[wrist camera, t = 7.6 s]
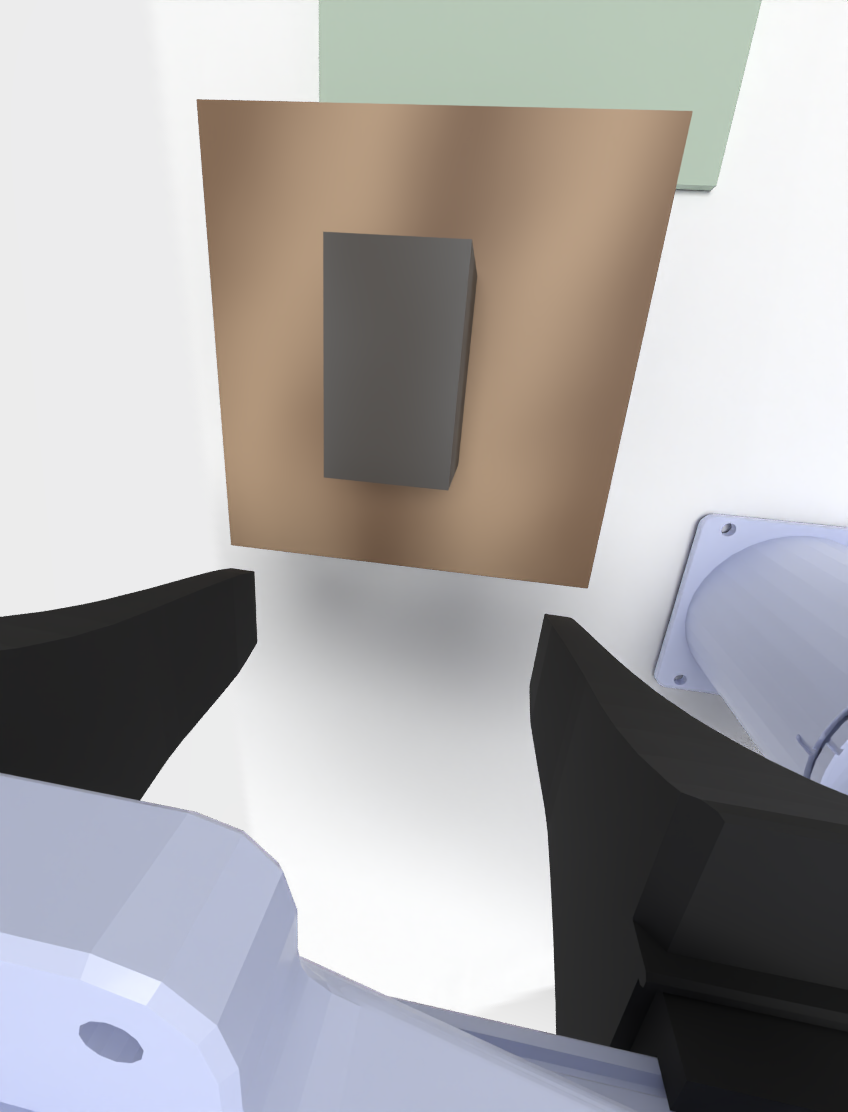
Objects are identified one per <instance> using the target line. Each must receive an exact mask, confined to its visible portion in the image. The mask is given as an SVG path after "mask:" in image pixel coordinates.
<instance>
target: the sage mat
mask: <svg viewBox="0 0 848 1112" xmlns="http://www.w3.org/2000/svg"><path fill="white" fill-rule="evenodd" d="M761 1H762V0H319V102H330V103H373V104H416V105H459V106H502V107H545V108H588V109H631V110H674V111H693V113H692V117H691V122H690V126H689V131H688V135H687V140H686V145H685V149H684V154H683V158H682V163H681V167H680V172H679V176H678V181H677V185H676V189H685V190H712V189H713V188H714V187H716V185H717V181H718V177H719V173H720V168H721V164H722V160H723V156H724V152H725V148H726V144H727V140H728V136H729V132H730V128H731V124H732V120H733V115H734V111H735V107H736V103H737V99H738V95H739V91H740V87H741V83H742V79H743V75H744V71H745V67H746V62H747V58H748V54H749V50H750V46H751V42H752V38H753V34H754V30H755V26H756V22H757V18H758V13H759V9H760V5H761Z"/></svg>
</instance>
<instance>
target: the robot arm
mask: <svg viewBox="0 0 848 1112" xmlns="http://www.w3.org/2000/svg"><path fill="white" fill-rule="evenodd" d="M729 523H731V529H730V531H728V532H727V533H722V528H723V526H724V525H726V524H729ZM256 644H257V624H256V600H255V576H254V571H247V570H240V569H233V568H230V569H222V570H217V571H212V572H208V573H204V574H200V575H197V576H193V577H189V578H185V579H182V580H179V581H175V582H171V583H168V584H164V585H160V586H157V587H153V588H150V589H146V590H142V591H138V592H134V593H130V594H126V595H122V596H118V597H114V598H110V599H106V600H101V601H97V602H92V603H87V604H83V605H78V606H72V607H66V608H61V609H55V610H49V611H44V612H36V613H28V614H20V615H12V616H4V617H0V1112H848V527H838V526H829V525H819V524H809V523H800V522H790V521H780V520H771V519H761V518H751V517H742V516H732V515H722V514H709V515H707V516H705V517H704V518H702V519H701V521H700V522H699V524H698V528H697V531H696V534H695V538H694V541H693V544H692V548H691V551H690V554H689V558H688V561H687V565H686V568H685V571H684V575H683V578H682V581H681V585H680V588H679V591H678V595H677V598H676V602H675V605H674V608H673V612H672V615H671V618H670V622H669V625H668V628H667V632H666V635H665V638H664V642H663V645H662V649H661V652H660V655H659V659H658V662H657V665H656V669H655V672H654V676H655V678H656V680H657V682H658V684H660V685H661V686H664V687H669V688H676V689H683V690H690V691H697V692H704V693H712V694H719V695H720V696H721V697H722V699H723V700H724V701H725V703H726V704H727V705H728V707H729V708H730V710H731V711H732V712H733V714H734V715H735V717H736V718H737V719H738V721H739V722H740V724H741V725H742V726H743V728H744V729H745V731H746V732H747V733H748V735H749V736H750V738H751V739H752V740H753V742H754V743H755V745H756V746H757V747H758V749H759V750H760V752H761V753H762V754H763V756H764V757H763V756H761V755H759V754H757V753H755V752H753V751H751V750H749V749H747V748H745V747H743V746H742V745H740V744H738V743H736V742H735V741H733V740H731V739H729V738H728V737H726V736H724V735H722V734H721V733H719V732H717V731H715V730H714V729H712V728H710V727H708V726H707V725H705V724H703V723H702V722H700V721H699V720H697V719H695V718H694V717H692V716H691V715H689V714H688V713H686V712H685V711H683V710H682V709H680V708H679V707H677V706H676V705H674V704H673V703H671V702H670V701H668V700H667V699H666V698H664V697H663V696H661V695H660V694H659V693H657V692H656V691H655V690H653V689H652V688H651V687H649V686H648V685H647V684H646V683H644V682H643V681H642V680H641V679H639V678H638V677H637V676H636V675H634V674H633V673H632V672H631V671H630V670H628V669H627V668H626V667H625V666H624V665H623V664H621V663H620V662H619V661H618V660H617V659H616V658H615V657H613V656H612V655H611V654H610V653H609V652H608V651H607V650H606V649H605V648H604V647H603V646H602V645H600V644H599V643H598V642H597V641H596V640H595V639H594V638H593V637H592V636H591V635H590V634H589V633H588V632H587V631H586V630H585V629H584V628H583V627H581V626H580V625H579V624H578V623H577V622H576V621H575V620H573V619H572V618H569V617H562V616H556V615H549V614H545V615H544V619H543V624H542V629H541V634H540V638H539V643H538V648H537V653H536V658H535V662H534V667H533V672H532V677H531V681H530V722H531V729H532V735H533V741H534V748H535V754H536V760H537V766H538V771H539V777H540V783H541V789H542V795H543V801H544V807H545V814H546V822H547V831H548V846H549V862H550V878H551V898H552V919H553V942H554V971H555V999H556V1035H555V1034H551V1033H547V1032H542V1031H538V1030H533V1029H529V1028H524V1027H520V1026H516V1025H512V1024H507V1023H503V1022H499V1021H494V1020H490V1019H485V1018H481V1017H477V1016H472V1015H468V1014H464V1013H459V1012H455V1011H450V1010H446V1009H442V1008H437V1007H433V1006H429V1005H424V1004H420V1003H416V1002H411V1001H407V1000H402V999H398V998H394V997H389V996H386V995H384V994H382V993H379V992H377V991H375V990H373V989H371V988H369V987H366V986H364V985H362V984H360V983H358V982H356V981H353V980H351V979H349V978H347V977H345V976H343V975H340V974H338V973H336V972H334V971H332V970H330V969H327V968H325V967H323V966H321V965H319V964H316V963H314V962H312V961H310V960H308V959H306V958H303V957H301V956H299V953H298V931H297V908H296V906H295V903H294V900H293V897H292V895H291V892H290V889H289V887H288V884H287V881H286V878H285V876H284V873H283V871H282V869H281V867H280V865H279V863H278V862H277V861H276V860H275V859H274V858H273V857H272V856H271V855H269V854H268V853H267V852H266V851H265V850H264V849H263V848H262V847H261V846H260V845H258V844H257V843H256V842H255V841H254V840H253V839H252V838H251V837H250V836H249V835H247V834H246V833H245V832H244V831H243V830H240V829H238V828H235V827H233V826H230V825H228V824H225V823H223V822H220V821H218V820H215V819H213V818H210V817H208V816H205V815H203V814H200V813H198V812H194V811H189V810H184V809H179V808H174V807H169V806H164V805H159V804H154V803H149V802H144V801H140V799H141V798H142V797H143V795H144V794H145V792H146V791H147V789H148V788H149V786H150V785H151V783H152V782H153V780H154V779H155V777H156V776H157V774H158V773H159V771H160V770H161V768H162V767H163V766H164V764H165V763H166V761H167V760H168V758H169V757H170V756H171V755H172V753H173V752H174V751H175V749H176V748H177V747H178V746H179V744H180V743H181V742H182V740H183V739H184V738H185V737H186V736H187V734H188V733H189V732H190V731H191V730H192V729H193V727H194V726H195V725H196V724H197V723H198V721H199V720H200V719H201V718H202V717H203V715H204V714H205V713H206V712H207V711H208V710H209V708H210V707H211V706H212V705H213V704H214V703H215V701H216V700H217V699H218V698H219V697H220V695H221V694H222V693H223V692H224V691H225V689H226V688H227V687H228V686H229V684H230V683H231V682H232V681H233V680H234V678H235V677H236V676H237V675H238V673H239V672H240V670H241V669H242V667H243V665H244V664H245V662H246V661H247V659H248V657H249V656H250V654H251V652H252V650H253V649H254V647H255V645H256ZM678 675H683V677H682V678H681V679H679V680H675V679H674V678H675V677H676V676H678Z"/></svg>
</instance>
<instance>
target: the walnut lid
mask: <svg viewBox="0 0 848 1112" xmlns="http://www.w3.org/2000/svg"><path fill="white" fill-rule="evenodd" d="M197 111H198V123H199V136H200V149H201V162H202V175H203V188H204V201H205V214H206V227H207V239H208V252H209V265H210V278H211V291H212V304H213V317H214V330H215V343H216V355H217V368H218V381H219V394H220V407H221V420H222V433H223V446H224V459H225V472H226V484H227V497H228V510H229V523H230V536H231V545H235V546H243V547H251V548H260V549H268V550H276V551H284V552H293V553H301V554H309V555H317V556H325V557H334V558H342V559H350V560H358V561H366V562H375V563H383V564H391V565H399V566H407V567H416V568H424V569H432V570H440V571H448V572H457V573H465V574H473V575H481V576H490V577H498V578H506V579H514V580H522V581H531V582H539V583H547V584H555V585H563V586H572V587H580V588H588V585H589V580H590V575H591V571H592V566H593V562H594V557H595V553H596V548H597V544H598V539H599V535H600V530H601V526H602V521H603V517H604V512H605V507H606V503H607V498H608V494H609V489H610V485H611V480H612V476H613V471H614V467H615V462H616V458H617V453H618V448H619V444H620V439H621V435H622V430H623V426H624V421H625V417H626V412H627V408H628V403H629V399H630V394H631V390H632V385H633V380H634V376H635V371H636V367H637V362H638V358H639V353H640V349H641V344H642V340H643V335H644V331H645V326H646V321H647V317H648V312H649V308H650V303H651V299H652V294H653V290H654V285H655V281H656V276H657V272H658V267H659V262H660V258H661V253H662V249H663V244H664V240H665V235H666V231H667V226H668V222H669V217H670V213H671V208H672V204H673V199H674V194H675V190H676V185H677V181H678V176H679V172H680V167H681V163H682V158H683V154H684V149H685V145H686V140H687V135H688V131H689V126H690V122H691V117H692V113H693V111H674V110H631V109H588V108H545V107H502V106H459V105H416V104H373V103H330V102H287V101H244V100H201V99H197Z"/></svg>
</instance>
